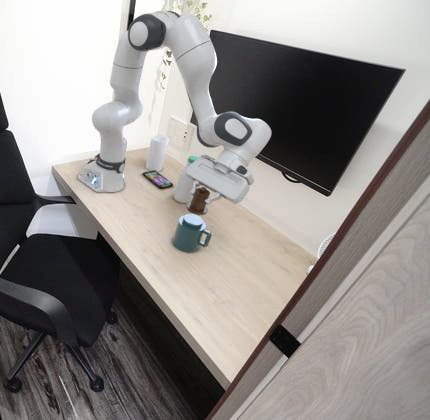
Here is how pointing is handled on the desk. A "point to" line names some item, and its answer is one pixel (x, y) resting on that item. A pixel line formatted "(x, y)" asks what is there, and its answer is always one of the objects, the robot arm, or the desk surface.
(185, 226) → the teal mug
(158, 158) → the cup
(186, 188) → the milk bottle
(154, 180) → the smartphone
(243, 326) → the desk surface
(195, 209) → the lid
